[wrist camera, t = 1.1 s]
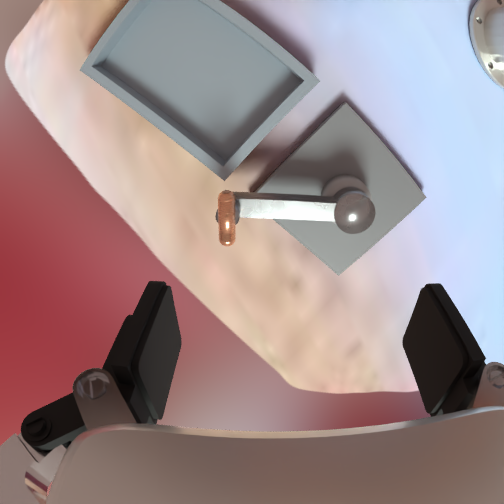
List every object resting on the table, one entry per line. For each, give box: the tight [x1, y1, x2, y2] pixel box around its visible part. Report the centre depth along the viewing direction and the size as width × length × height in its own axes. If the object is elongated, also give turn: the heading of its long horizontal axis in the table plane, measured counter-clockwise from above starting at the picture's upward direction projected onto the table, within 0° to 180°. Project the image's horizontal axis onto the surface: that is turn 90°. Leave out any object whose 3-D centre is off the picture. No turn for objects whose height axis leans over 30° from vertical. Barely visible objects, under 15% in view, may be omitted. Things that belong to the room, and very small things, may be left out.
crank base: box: [254, 102, 426, 276], centre depth 32 cm, size 14×14×3 cm
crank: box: [216, 186, 376, 246], centre depth 28 cm, size 14×5×5 cm, turn 89°
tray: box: [80, 0, 320, 181], centre depth 26 cm, size 13×19×3 cm
